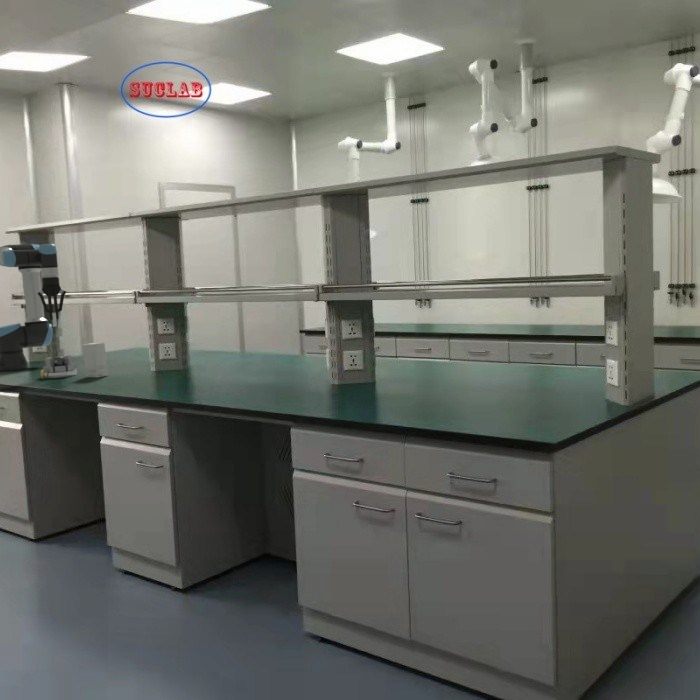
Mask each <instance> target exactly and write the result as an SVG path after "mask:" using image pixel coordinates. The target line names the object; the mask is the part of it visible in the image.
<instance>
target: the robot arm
mask: <svg viewBox="0 0 700 700" xmlns="http://www.w3.org/2000/svg"><path fill="white" fill-rule="evenodd" d="M0 266H1V267H6V268H17V269H18V272H19V273H21V276H22V277H21V278H22V283H23V284H22V285H23V286H22V287H23V293H24V303H25V310H26V320H25V321H24V325H21V323H12V324H6V325H2V326H0V372H11V371H21V370H26V369H28V368H29V362H28V361H27V358H26V355H25V353H24V349H26V348H37V347H38V348H39V347H41V348H42V347H46V346H49V345H51V343H52V341H53V328H55V327H58V322H57V321H58V320H59V313H60V312H61V311H62V310H63V305H64V301H65V300H64V299H65V295H66V294H67V291H66V290H64V289H62V287H61V286H60V278H59V277H58V276H59V268H58V267H59V266H58V255H57V246H56V245H55V244H54V243H44V244H35V243H26V244H6V245H3V246H0ZM40 273H41V275H40ZM41 277H42V278H41ZM41 281H42V283H41ZM59 294H60V300H59V305H58V295H59ZM43 295H45V296H46V297H47V303H46V299H45V298H44V296H43ZM52 298H53V304H52ZM47 305H48V306H47ZM53 306H54V312H53ZM45 313H49V320H52V323H49V320H48V319H47V318H45Z"/></svg>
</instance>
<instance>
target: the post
mask: <svg viewBox="0 0 700 700" xmlns="http://www.w3.org/2000/svg"><path fill="white" fill-rule="evenodd" d="M40 377H41V378H40V379H41V380H44V379H46V378H45V374H44V369H41V370H40Z"/></svg>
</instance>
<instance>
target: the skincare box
mask: <svg viewBox="0 0 700 700" xmlns="http://www.w3.org/2000/svg"><path fill="white" fill-rule="evenodd" d="M82 352H83V359H84V366H85V367H84V368H85V376H86V378H97V379H98V378H103V377H108V376H109V372H108V364H107V362H108V361H107V354H106V345H105V342H90V343H83V344H82Z"/></svg>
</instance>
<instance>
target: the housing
mask: <svg viewBox="0 0 700 700" xmlns="http://www.w3.org/2000/svg"><path fill="white" fill-rule="evenodd" d="M66 356H67V355H64V356H63V355H61V356H59V355H58V356H51V357H52V359H54V365H55V366H63V365H65V359H64V358H66ZM44 374H45V379H60V378H70V377H74V375H75V376H77V375H78V369H77V368H76V369H74V370H70V371H62V372H44Z"/></svg>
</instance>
